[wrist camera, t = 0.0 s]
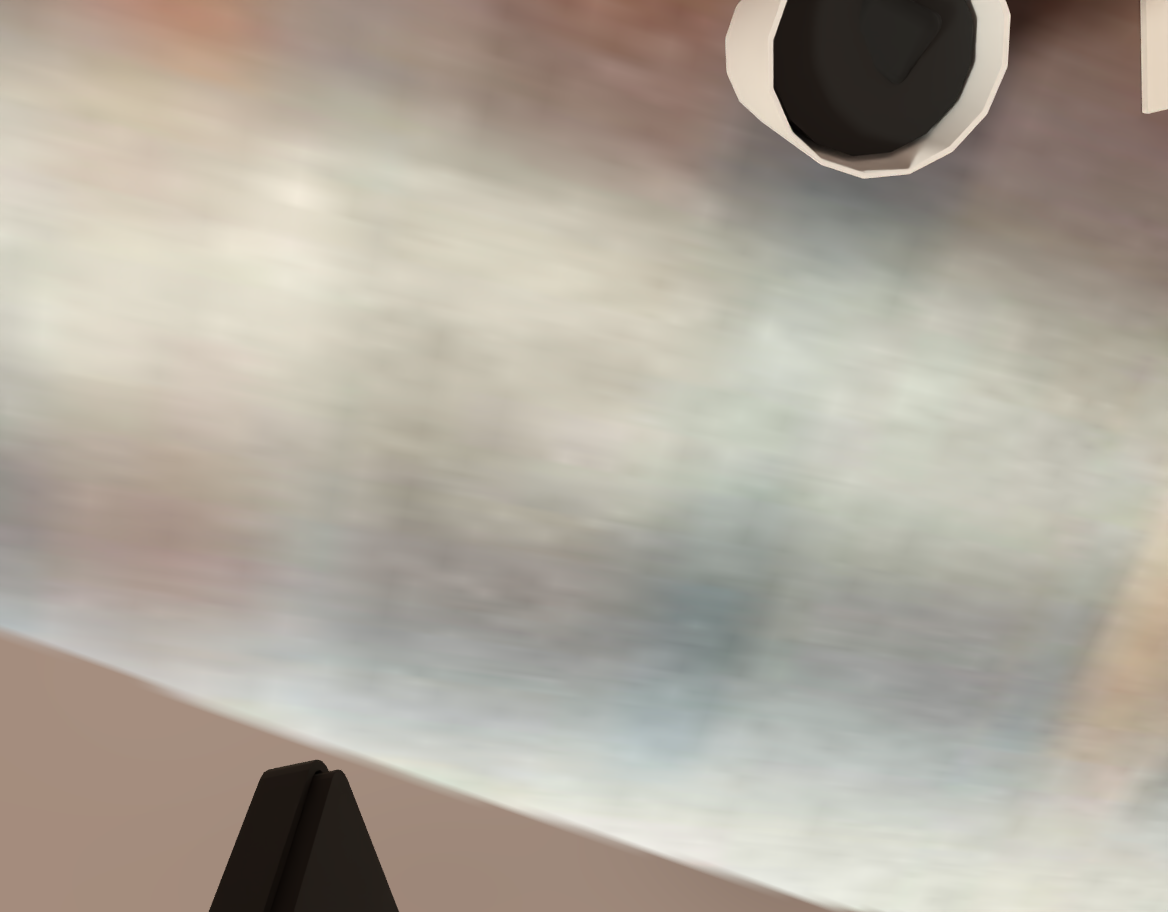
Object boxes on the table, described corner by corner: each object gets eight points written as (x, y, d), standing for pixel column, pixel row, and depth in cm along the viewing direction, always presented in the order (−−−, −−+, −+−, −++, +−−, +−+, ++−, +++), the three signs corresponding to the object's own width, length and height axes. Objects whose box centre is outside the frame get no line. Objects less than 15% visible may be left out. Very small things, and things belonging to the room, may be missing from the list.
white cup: (776, -94, 36) (855, -138, 26) (933, 7, 37) (1061, -2, 28) (678, 87, 38) (720, 105, 28) (830, 176, 39) (917, 221, 30)
